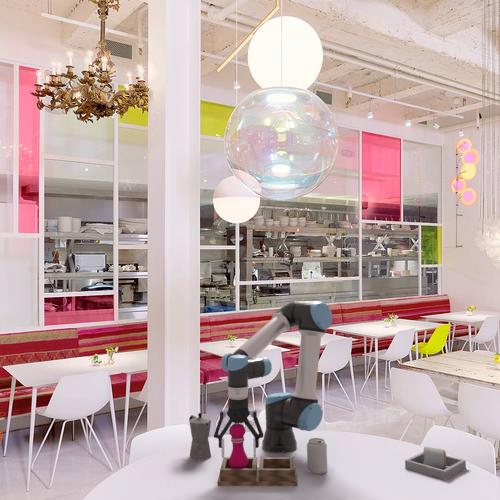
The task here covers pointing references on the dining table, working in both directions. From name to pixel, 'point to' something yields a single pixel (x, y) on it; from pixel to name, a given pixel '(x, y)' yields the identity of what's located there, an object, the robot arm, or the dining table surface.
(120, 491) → the dining table surface
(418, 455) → the frame
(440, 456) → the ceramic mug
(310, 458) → the can
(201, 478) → the dining table surface
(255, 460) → the wooden divided tray
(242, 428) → the pepper mill
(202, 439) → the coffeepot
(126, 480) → the dining table surface
